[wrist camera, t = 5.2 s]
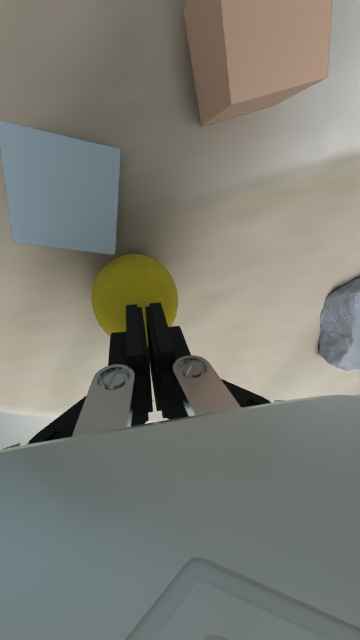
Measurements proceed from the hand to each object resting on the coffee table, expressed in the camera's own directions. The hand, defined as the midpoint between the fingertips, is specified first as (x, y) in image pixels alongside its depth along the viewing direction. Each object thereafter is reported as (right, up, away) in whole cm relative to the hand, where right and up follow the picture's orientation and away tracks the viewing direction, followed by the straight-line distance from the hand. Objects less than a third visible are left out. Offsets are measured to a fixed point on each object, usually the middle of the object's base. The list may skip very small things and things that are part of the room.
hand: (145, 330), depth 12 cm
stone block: (+23, +2, +15) cm, 27 cm away
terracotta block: (+5, +16, +3) cm, 17 cm away
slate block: (-5, +9, +4) cm, 11 cm away
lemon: (-2, +4, +8) cm, 9 cm away
